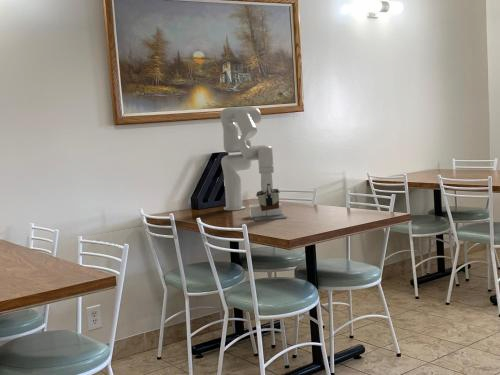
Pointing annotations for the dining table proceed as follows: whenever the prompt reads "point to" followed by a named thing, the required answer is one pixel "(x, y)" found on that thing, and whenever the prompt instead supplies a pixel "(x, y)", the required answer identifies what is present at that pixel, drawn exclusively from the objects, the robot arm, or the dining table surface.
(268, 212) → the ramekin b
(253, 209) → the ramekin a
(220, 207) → the dining table surface
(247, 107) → the robot arm
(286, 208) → the dining table surface
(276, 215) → the mat
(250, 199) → the dining table surface
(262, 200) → the food container
